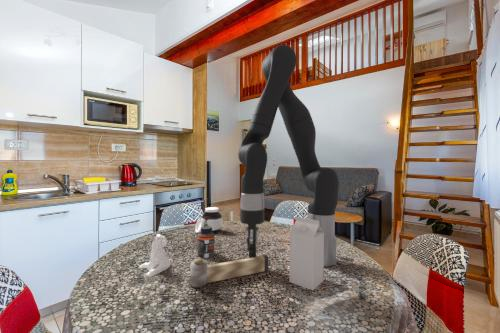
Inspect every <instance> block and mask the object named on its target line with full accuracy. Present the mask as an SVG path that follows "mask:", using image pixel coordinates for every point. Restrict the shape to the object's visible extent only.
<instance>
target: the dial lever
mask: <svg viewBox="0 0 500 333" xmlns="http://www.w3.org/2000/svg"><path fill="white" fill-rule="evenodd" d="M268 271H269V256H268V255H267V254H264V255H258V256H256V257H252V258H249V257H248V258H241V259H237V260H230V261H224V262H219V263H213V264H208V261H207V260H205V259H204V258H201V257H199V258H195V259H194V260H192V261H191V262H190V277H189V278H190V286H191V287H193V288H202V287H204V286H206V285H207V284H209V283H214V282H218V281H223V280H228V279H235V278H238V277H243V276H248V275H249V276H250V275H254V274H257V273H258V274H259V273H262V272H268Z"/></svg>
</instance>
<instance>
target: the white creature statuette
mask: <svg viewBox="0 0 500 333" xmlns="http://www.w3.org/2000/svg"><path fill="white" fill-rule="evenodd" d="M167 244H168V240H167V237H166V236H164V235H163V234H159V233H157V234H156V236H155V239H154V240H152V244H151V252H150V253H149V254H150V255H149V257H150V258H149V261H148V262H143V263H142V264H140V265H139V270H142V269H143V270H144V269H146V270H148V272H146V273H145V277H146V278H151V277H155V276H156V275H158V274H160V273H161V272H164V271H167V270H168V268H170V267H171V264H172V263H171V261H170V258H169V257H168V256H167V253H166V250H165V249H164V248H165V247H166V245H167Z"/></svg>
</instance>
